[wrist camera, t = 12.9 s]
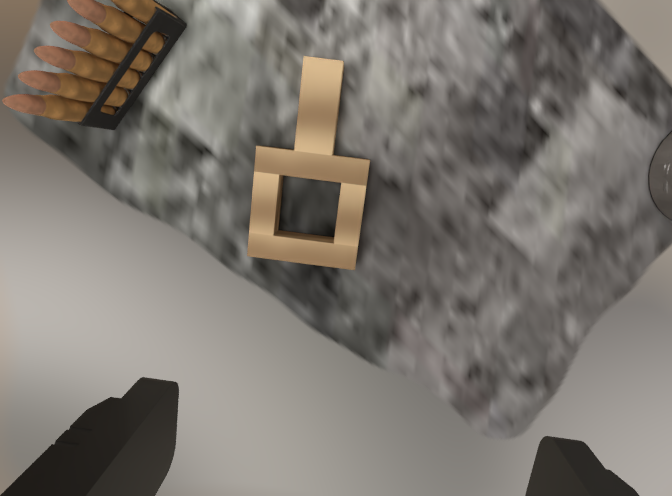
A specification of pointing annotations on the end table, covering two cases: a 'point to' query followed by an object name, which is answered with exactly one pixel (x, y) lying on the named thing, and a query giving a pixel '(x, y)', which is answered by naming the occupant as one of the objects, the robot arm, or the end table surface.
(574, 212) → the end table surface
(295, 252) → the oak link
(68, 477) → the robot arm
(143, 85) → the ammunition clip
